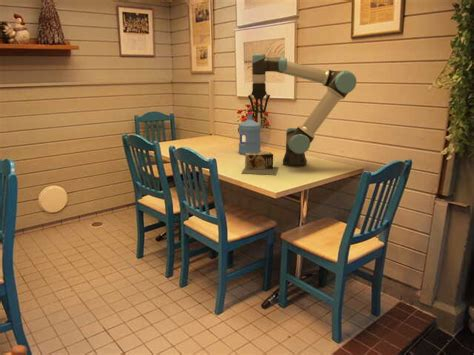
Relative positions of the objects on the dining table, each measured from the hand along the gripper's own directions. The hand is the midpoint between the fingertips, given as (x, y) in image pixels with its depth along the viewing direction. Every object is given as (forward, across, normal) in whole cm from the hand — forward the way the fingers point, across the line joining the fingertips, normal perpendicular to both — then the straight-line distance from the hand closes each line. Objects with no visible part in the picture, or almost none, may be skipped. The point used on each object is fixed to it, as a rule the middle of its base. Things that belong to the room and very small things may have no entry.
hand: (259, 124), depth 223 cm
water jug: (+27, +10, -45) cm, 54 cm away
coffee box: (+22, +8, +1) cm, 24 cm away
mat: (+27, -1, +3) cm, 28 cm away
